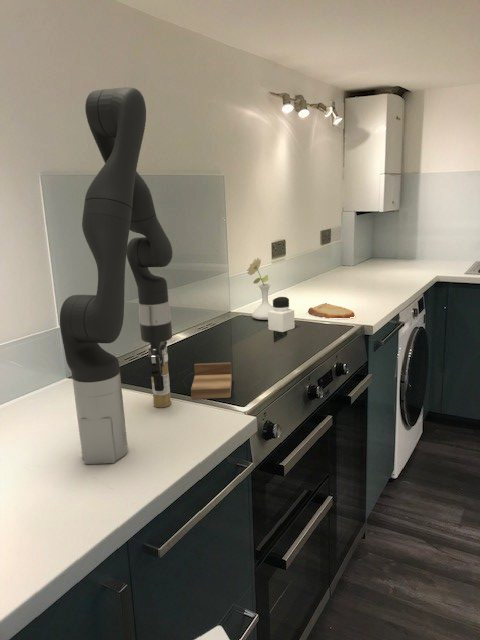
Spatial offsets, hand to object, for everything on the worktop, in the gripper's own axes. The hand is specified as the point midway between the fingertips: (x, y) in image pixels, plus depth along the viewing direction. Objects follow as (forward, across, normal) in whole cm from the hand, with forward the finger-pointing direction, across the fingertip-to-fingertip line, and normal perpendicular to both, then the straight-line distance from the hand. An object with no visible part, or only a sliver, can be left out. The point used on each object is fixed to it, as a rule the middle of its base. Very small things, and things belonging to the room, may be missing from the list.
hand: (161, 386), depth 135 cm
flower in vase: (+5, +86, -28) cm, 90 cm away
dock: (+5, +9, -12) cm, 16 cm away
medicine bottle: (+5, +69, -34) cm, 77 cm away
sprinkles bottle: (+5, 0, 0) cm, 5 cm away
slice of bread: (+6, +89, -55) cm, 105 cm away
